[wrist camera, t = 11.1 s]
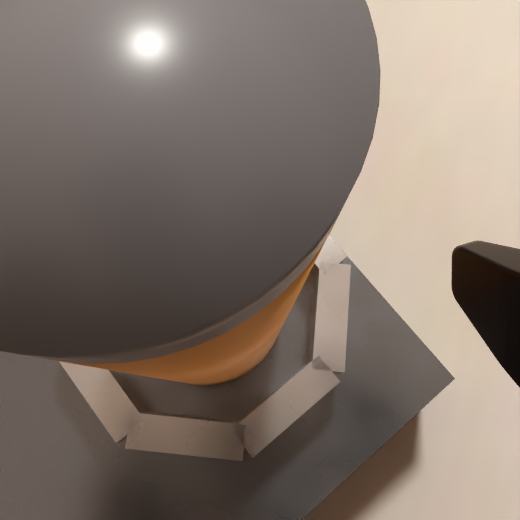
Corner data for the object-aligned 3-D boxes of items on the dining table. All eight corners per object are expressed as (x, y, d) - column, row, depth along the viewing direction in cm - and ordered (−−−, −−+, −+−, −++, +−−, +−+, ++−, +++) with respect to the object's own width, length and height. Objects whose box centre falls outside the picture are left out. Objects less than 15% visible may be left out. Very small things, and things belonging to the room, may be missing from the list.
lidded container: (257, 405, 16) (288, 447, 3) (112, 359, 16) (-352, 241, 4) (298, 263, 17) (433, -86, 5) (163, 223, 18) (-48, -208, 5)
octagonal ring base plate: (423, 381, 19) (519, 373, 13) (128, 648, 17) (49, 822, 10) (179, 99, 22) (151, -30, 16) (-104, 287, 20) (-286, 231, 13)
